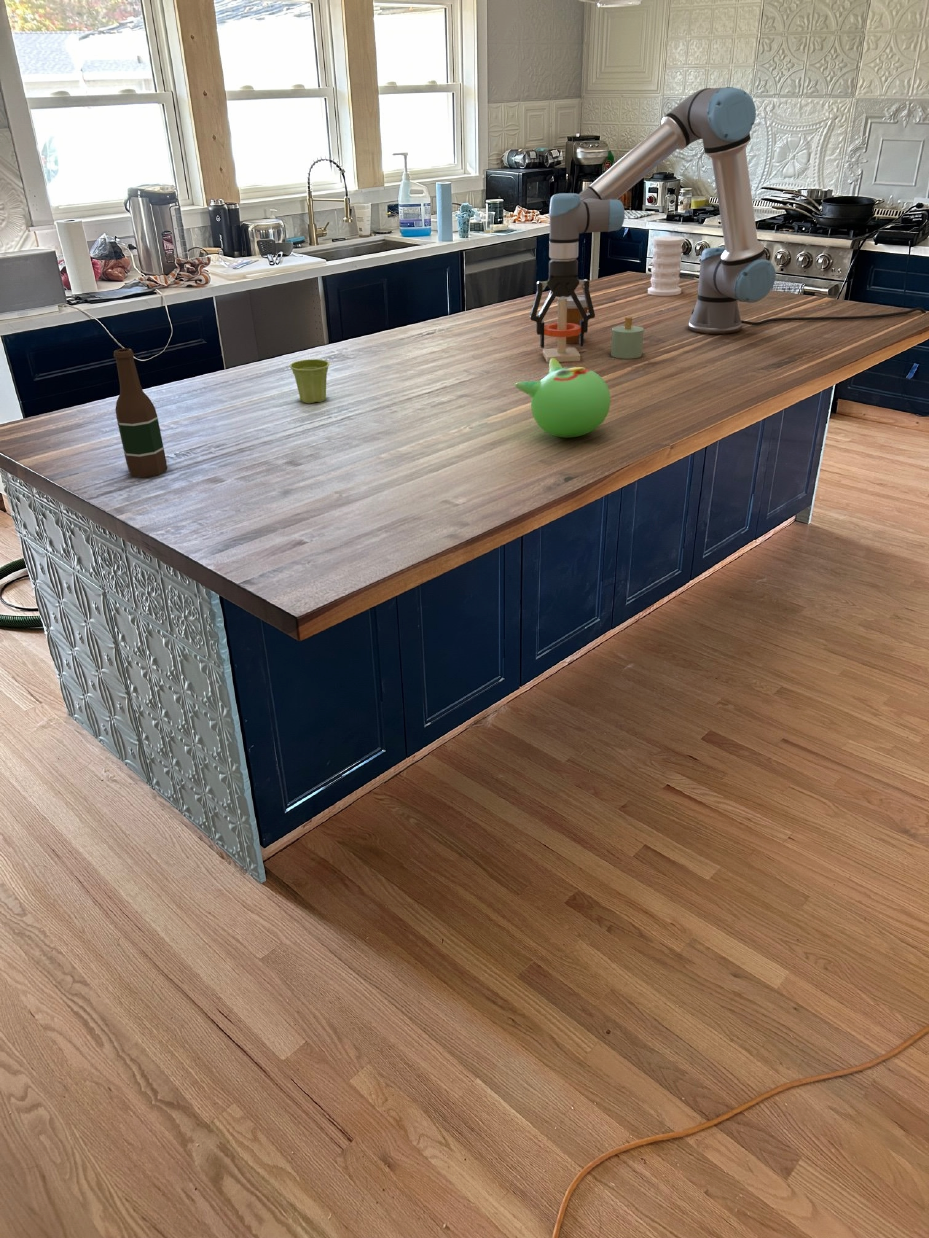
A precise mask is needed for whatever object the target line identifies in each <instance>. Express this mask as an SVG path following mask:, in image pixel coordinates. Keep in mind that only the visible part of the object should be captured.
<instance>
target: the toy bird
mask: <svg viewBox="0 0 929 1238" xmlns="http://www.w3.org/2000/svg"><path fill="white" fill-rule="evenodd" d="M514 387H515V388H516V389H517V390H519V391H520V392H523V393H525V394H526V395H529V396H530V397H531V401H530V409H531V414H532V417H533V419H534V421H535V423H536V424H537V425H538V426H539V428H540V429H541V430H542V431H544V432H546V433H547V434H549V435H551V436H555V437H559V438H568V439H569V438H577V437H582V436H585V435H587V434H589V433H591V432H593V431H595V430H596V429H597V428H598V427H600V426H601V425H602V423H604V421H605V420H606V418H607V416H608V414H609V411H610V407H611V393H610V389H609V387H608V384H607V383H606V381H605V380H604V379H603V378H602V376H600V375H599V374H598V373H596V372H595V371H593V370H591V369H588V368H585V367H584V366H566V367H563V366H562V364H560V362H558V361H557V360H556V359H555V358H552V359H551V360H550V362H548V374H547V375H545V376H544V377H543V378H541V380H538V381H537V380H536V381H535V380H534V381H533V380H524V381H523V380H522V381H517V382H515V384H514Z"/></svg>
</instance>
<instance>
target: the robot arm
mask: <svg viewBox="0 0 929 1238" xmlns="http://www.w3.org/2000/svg"><path fill="white" fill-rule="evenodd" d="M756 118H757V110H756V105H755V101H754V100H753V98H752V96H751V95H750V94H749V93H748V92H746V91H745V90H743V89H741V88H738V87H737V88H736V87H733V86H724V87H706V88H702V89H699V90H697V91H694V92H693V93H692V94H690V95H688V96H687V97H686V98H684V100H682V101H681V102H680V103H678V105H676V106H675V107H674V108H673V109H671V110H670V111H669V112H668V113H666V114H665V115H664V116H663V117H662V119H661V124H660V125H659V126H658V127H656V128H655V129H654V130H653V131H652V132H651V133H650V134H648V135H647V136H645V137H644V138H643V140H642V141H640V142H639V143H638V144H637V145H635V146H634V147H633V148H632V149H631V150H629V151H628V152H627V153H626V154H625V155H624V156H623V157H621V158H620V159H618V160H617V162H615V163H614V164H613V165H612V166H611V167H610V168H608V169H607V170H606V171H605V172H603V173H602V174H601V175H600V176H599V177H598V178H596V180H594V181H593V182H592V183H591V184H590V185H588V186H587V187H585V188H584V189H583V190H582V191H580V192H579V193H574V192H568V193H566V192H565V193H564V192H563V193H556V194H553V195H552V196H551V197H550V202H549V212H548V216H549V243H548V247H549V248H548V249H549V250H548V257H549V258H550V260H549V261H548V278H547V280H545V281H541V280H538V281H537V282H536V292H535V295H534V300H533V303H532V307H531V309H530V313H529V319H530V320H531V321H532V322H535V324H536V325H535V327H536V328H535V330H536V331H535V333H536V335H537V336H539V346H540V349H545V335H544V326H545V322H544V321H543V320H544V318H545V316H546V315H547V313H548V311H549V309H550V307H551V305H552V304H553V302H554V300H555V299H556V297H557V298H559V297H562V296H565V297H569V296H570V295H571V297H572V299H573V301H574V303H575V305H576V306H577V308H578V310H579V312H580V314H581V316H582V318H583V319H580V326H581V333H580V334H579V342H578V345H579V346H580V347H584V337H585V334H587V333H588V330H589V329H588V328H589V320H591V319H595V318H596V313H595V309H594V305H593V301H592V297H591V292H590V280H588V279H587V278H585V279H579V277H578V275H579V273H578V271H579V260H578V259H577V258H578V257H579V240H580V234H588V233H603V232H605V233H606V232H607V233H610V232H613V231H619V230H620V229H622V227H623V225H624V223H625V222H624V221H625V215H626V213H625V207H624V203H623V201H621V200H620V198H621V197H622V196H623V195H625V194H626V193H627V192H628V191H630V189H632V188H633V187H634V186H635V185H636V184H637V183H639V182H640V181H641V180H642V179H644V178H645V177H646V176H647V175H648V174H649V173H651V172H652V171H653V170H655V168H657V167H658V166H660V164H661V163H663V162H664V161H665V160H666V159H667V158H668V157H670V156H671V155H673V153H676V151H677V150H680V151H682V150H685V149H686V148H687V147H688V146H689V145H691V144H693V143H694V142H697V141H699V140H700V141H701V140H702V147H703V151H704V155H706V156H708V157H709V158H710V159H711V163H712V171H713V176H714V181H715V182H714V184H715V191H716V196H717V203H718V210H719V217H720V223H721V229H722V236H723V242H724V243H723V244H724V246H717V247H708V248H704V249H703V250H702V252H701V257H700V261H699V264H700V265H699V276H698V286H697V299H696V303H695V306H694V308H693V309H692V311H691V314H690V318H689V320H688V330H690V331H692V332H694V333H698V334H699V333H700V334H707V335H726V334H734V333H737V332H740V331H741V330H742V325H748V326H749V325H750V326H759V325H763V324H768V323H770V322H771V323H772V322H792V321H835V320H836V321H837V320H839V321H840V320H841V321H842V320H865V319H879V318H889V317H895V316H896V317H897V316H903V315H908V314H912V313H914V312H917V311H920V312H921V313H923V314H927V312H926V310H925V308H923V307H920V306H919V307H913V308H911V309H908V310H905V311H904V310H903V311H896V312H890V313H881V314H870V315H869V314H868V315H850V316H849V315H848V316H846V315H845V316H798V317H797V316H795V317H775V318H766V319H763V320H760V321H750V320H749V321H748V320H743V319H741V313H740V308H739V304H738V303H739V302H741V303H748V304H753V303H754V304H755V303H757V302H760V301H762V300H763V299H765V298H766V296H768V294H769V293H770V292H771V289H773V287H774V285H775V283H776V276H777V272H776V268H775V266H774V264H773V263H772V262H771V261H770V260H768V259H767V255H766V248H765V245H764V244H763V243H762V242H760V241H759V240H758V234H757V233H758V232H757V226H756V225H757V224H756V217H755V210H754V202H753V196H752V195H753V194H752V188H751V180H750V173H749V165H748V164H749V163H748V157H747V150H746V149H747V147H748V145H749V143H750V142H751V140H752V139H751V131H752V129H753V127H754V126H753V125H754V124H755V122H756ZM579 285H580V288H581V289H582V290H583V296H585V300H586V304H587V308H588V312H587V314H586V313H585V311H584V309H583V307H582V305H581V303H580V301H579V299H578V298H577V295H578V294H576V292H575V291H576V289H577V288H578V287H579ZM546 287H548V288H549V290H550V292H549V294H548V296H547V297H546V300H545V301H544V304H543V305H542V307H541V308H540V311H539V312H538V310H539V306H540V303H541V299H542V296H543V291H546ZM537 313H538V314H537Z"/></svg>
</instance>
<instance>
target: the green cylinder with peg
mask: <svg viewBox="0 0 929 1238" xmlns="http://www.w3.org/2000/svg"><path fill="white" fill-rule="evenodd" d="M632 323H633V317H632V316H625V317H624V325H617V326H614V327H612V328H611V347H610V356H611V357H613V358H616V359H621V360H622V359H624V360H625V359H628V360H629V359H630V360H631V359H637V358H640V357H642V356H643V347H644V346H643V345H644V331H645V329H644V327H642V326H640V325H633V324H632Z"/></svg>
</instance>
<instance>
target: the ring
mask: <svg viewBox="0 0 929 1238" xmlns="http://www.w3.org/2000/svg"><path fill="white" fill-rule="evenodd" d="M557 328H558V322H553V323H547V324H544V336H547V337H551V338H557V337H571V336H577V335H579V334H580V333H581V326H580V325H578V324H574V323H567V325H566V330H557Z"/></svg>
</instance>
